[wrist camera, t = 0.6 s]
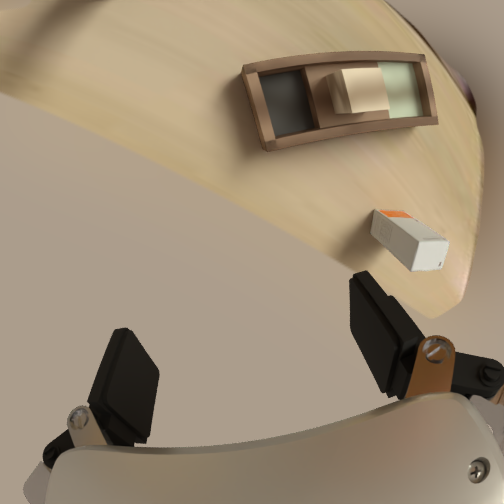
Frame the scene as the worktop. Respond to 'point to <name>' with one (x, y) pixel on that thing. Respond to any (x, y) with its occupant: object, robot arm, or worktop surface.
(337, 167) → the worktop surface
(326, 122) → the channel
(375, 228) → the skincare box
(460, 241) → the worktop surface
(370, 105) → the birch block
